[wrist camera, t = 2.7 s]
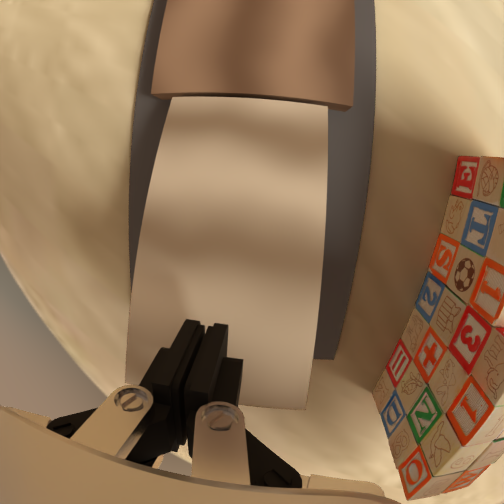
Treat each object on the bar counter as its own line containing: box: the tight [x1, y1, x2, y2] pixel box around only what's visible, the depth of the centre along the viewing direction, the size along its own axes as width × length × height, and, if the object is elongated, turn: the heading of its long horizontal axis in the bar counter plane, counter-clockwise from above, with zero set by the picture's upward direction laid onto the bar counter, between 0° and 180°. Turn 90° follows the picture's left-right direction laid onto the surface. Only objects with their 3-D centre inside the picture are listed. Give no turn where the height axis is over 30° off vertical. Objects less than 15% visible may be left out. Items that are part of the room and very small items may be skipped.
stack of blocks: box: [372, 156, 504, 501], centre depth 15 cm, size 21×6×12 cm, turn 169°
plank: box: [125, 97, 328, 410], centre depth 15 cm, size 16×9×2 cm, turn 176°
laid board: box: [151, 0, 355, 112], centre depth 15 cm, size 12×13×2 cm
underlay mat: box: [129, 0, 376, 360], centre depth 18 cm, size 16×31×1 cm, turn 175°
